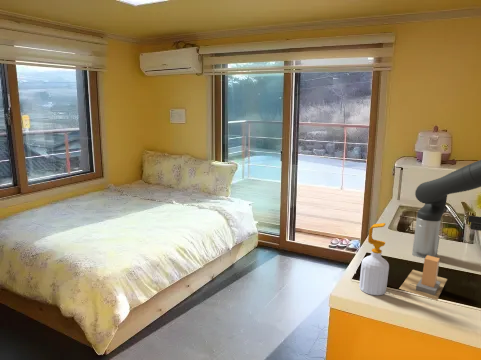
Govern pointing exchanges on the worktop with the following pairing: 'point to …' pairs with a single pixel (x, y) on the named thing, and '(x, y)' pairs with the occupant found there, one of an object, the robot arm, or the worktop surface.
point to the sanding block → (429, 276)
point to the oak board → (414, 280)
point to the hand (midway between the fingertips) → (469, 222)
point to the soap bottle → (374, 268)
